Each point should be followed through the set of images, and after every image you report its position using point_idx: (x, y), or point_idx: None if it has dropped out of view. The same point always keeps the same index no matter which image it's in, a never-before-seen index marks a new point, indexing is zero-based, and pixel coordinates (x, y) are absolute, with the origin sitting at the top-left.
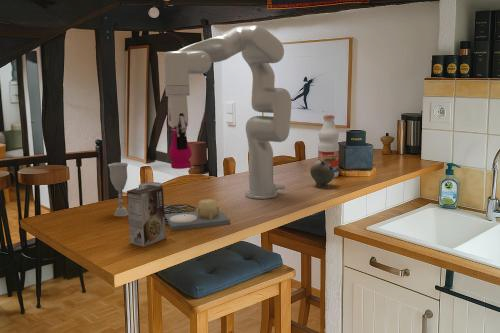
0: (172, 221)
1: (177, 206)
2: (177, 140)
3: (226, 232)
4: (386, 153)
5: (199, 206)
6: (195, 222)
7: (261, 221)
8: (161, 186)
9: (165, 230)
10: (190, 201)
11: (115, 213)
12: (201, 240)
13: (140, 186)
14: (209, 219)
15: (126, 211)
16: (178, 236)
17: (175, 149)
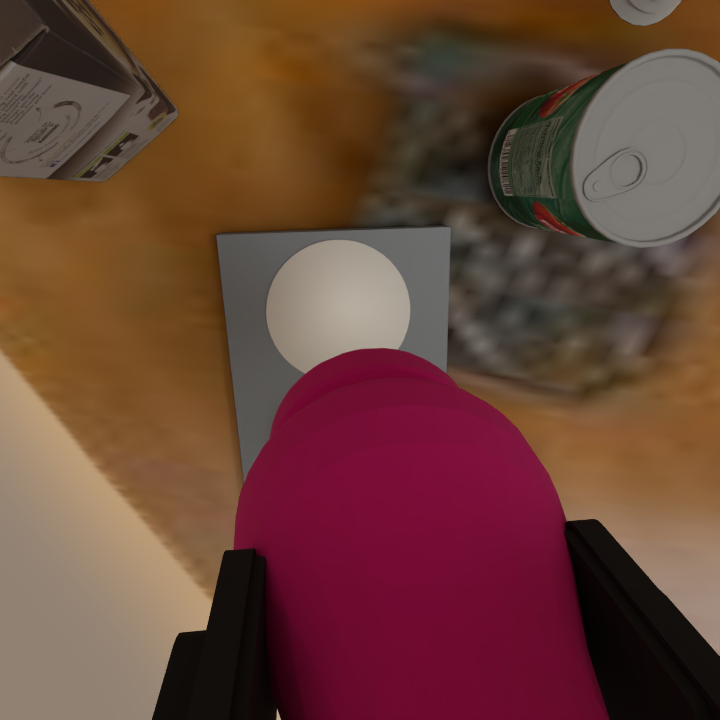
0: (301, 249)
1: (641, 321)
2: (196, 708)
3: (133, 466)
4: None
5: None
6: (252, 360)
7: None
8: (613, 241)
9: (86, 180)
10: (694, 396)
11: None
12: (38, 345)
13: (643, 60)
14: None
15: (638, 2)
16: (124, 249)
17: (270, 518)
